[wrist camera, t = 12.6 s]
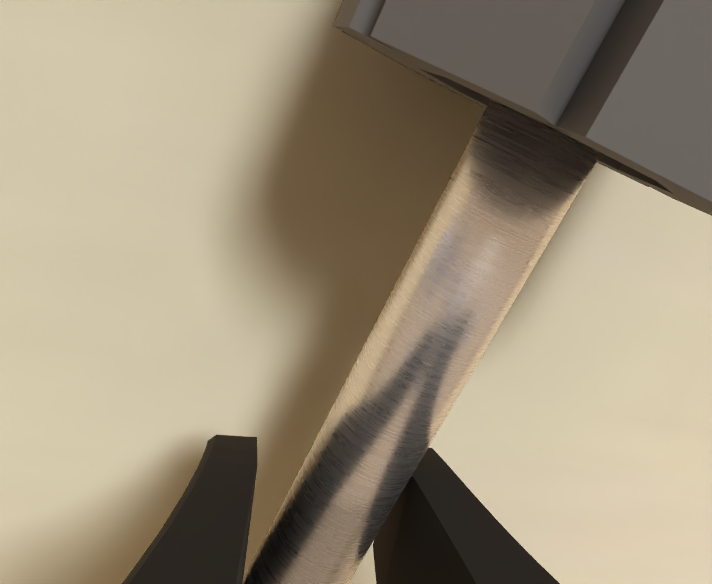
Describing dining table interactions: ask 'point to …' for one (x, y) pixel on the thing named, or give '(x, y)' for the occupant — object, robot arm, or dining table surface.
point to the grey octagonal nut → (571, 72)
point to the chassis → (425, 344)
